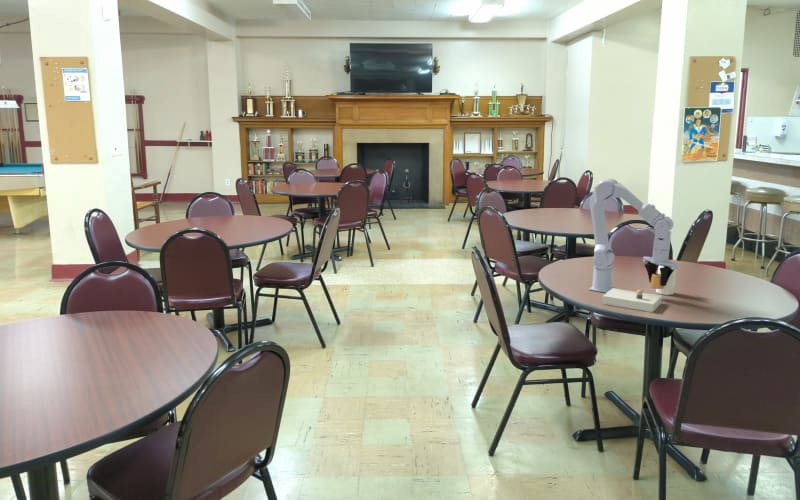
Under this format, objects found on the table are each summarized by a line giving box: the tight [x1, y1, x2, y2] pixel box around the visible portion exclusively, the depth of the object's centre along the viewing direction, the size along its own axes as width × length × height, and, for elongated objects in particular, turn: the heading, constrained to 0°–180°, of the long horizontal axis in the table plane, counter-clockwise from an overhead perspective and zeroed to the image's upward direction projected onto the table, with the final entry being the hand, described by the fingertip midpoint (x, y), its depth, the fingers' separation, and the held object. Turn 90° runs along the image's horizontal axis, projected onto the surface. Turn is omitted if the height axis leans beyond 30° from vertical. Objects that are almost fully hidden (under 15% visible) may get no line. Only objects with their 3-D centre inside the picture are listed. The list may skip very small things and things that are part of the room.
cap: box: [649, 272, 664, 290], centre depth 241 cm, size 5×5×5 cm
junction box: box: [601, 287, 663, 313], centre depth 234 cm, size 14×18×6 cm
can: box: [655, 265, 677, 296], centre depth 249 cm, size 6×6×12 cm
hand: (657, 283), depth 241 cm, fingers closed on cap, 5 cm apart
